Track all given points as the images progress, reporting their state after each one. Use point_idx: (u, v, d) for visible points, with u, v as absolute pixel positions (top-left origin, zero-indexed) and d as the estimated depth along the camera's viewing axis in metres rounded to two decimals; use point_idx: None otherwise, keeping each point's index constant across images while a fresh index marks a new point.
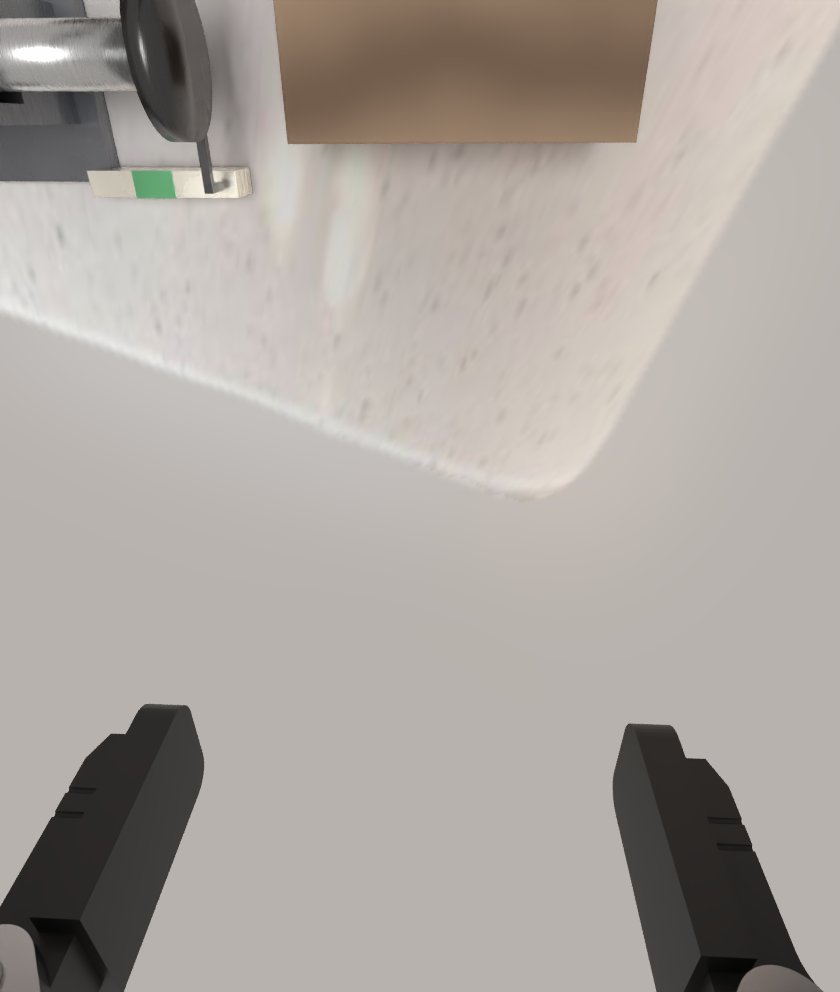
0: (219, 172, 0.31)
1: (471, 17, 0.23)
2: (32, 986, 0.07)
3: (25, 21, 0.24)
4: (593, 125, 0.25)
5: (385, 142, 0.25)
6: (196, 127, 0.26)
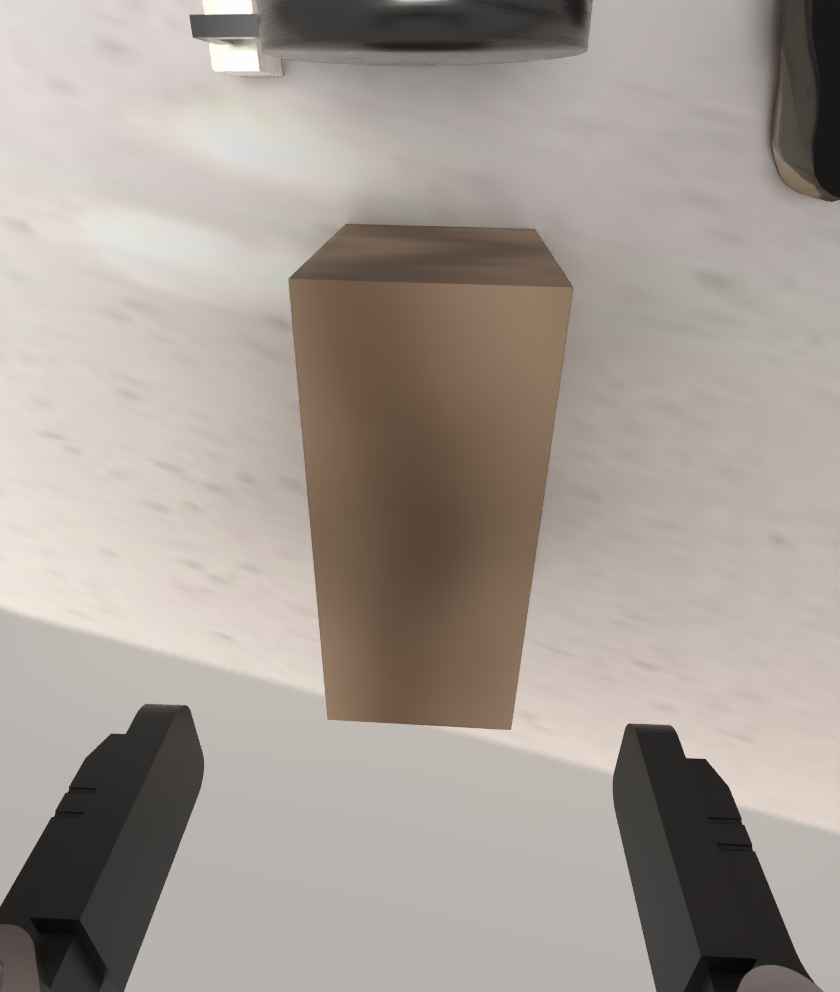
0: None
1: (461, 563, 0.17)
2: (32, 985, 0.07)
3: None
4: (343, 683, 0.20)
5: (304, 447, 0.15)
6: (295, 56, 0.12)
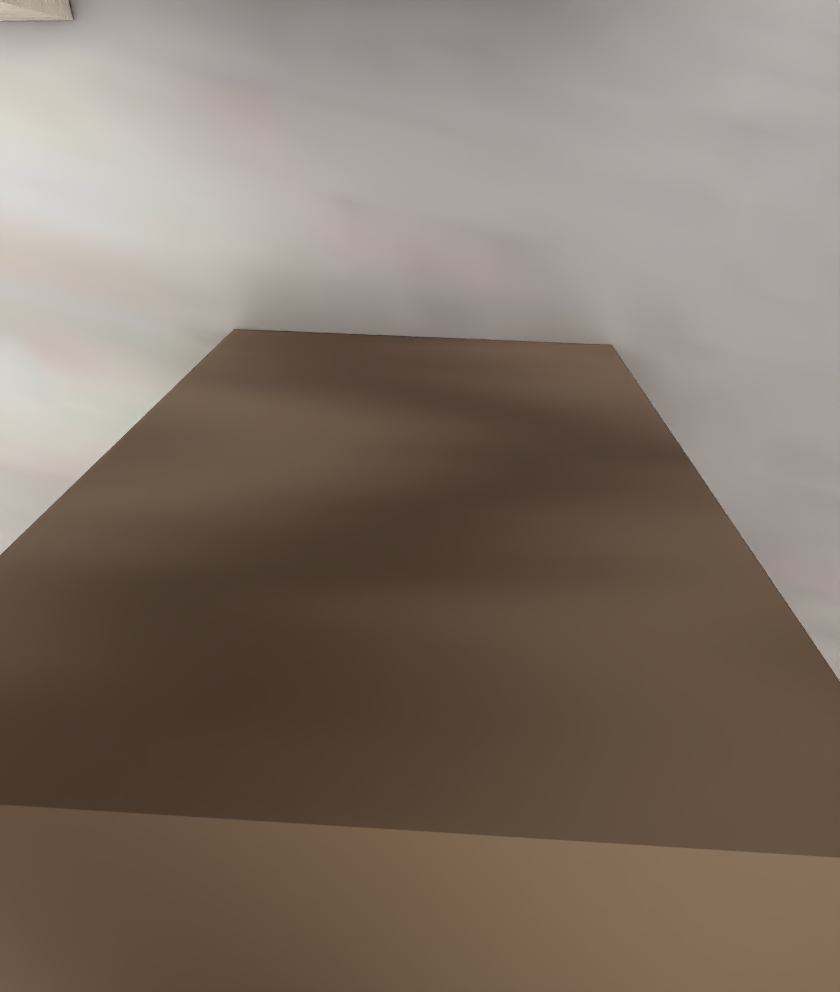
0: None
1: None
2: None
3: None
4: None
5: None
6: None
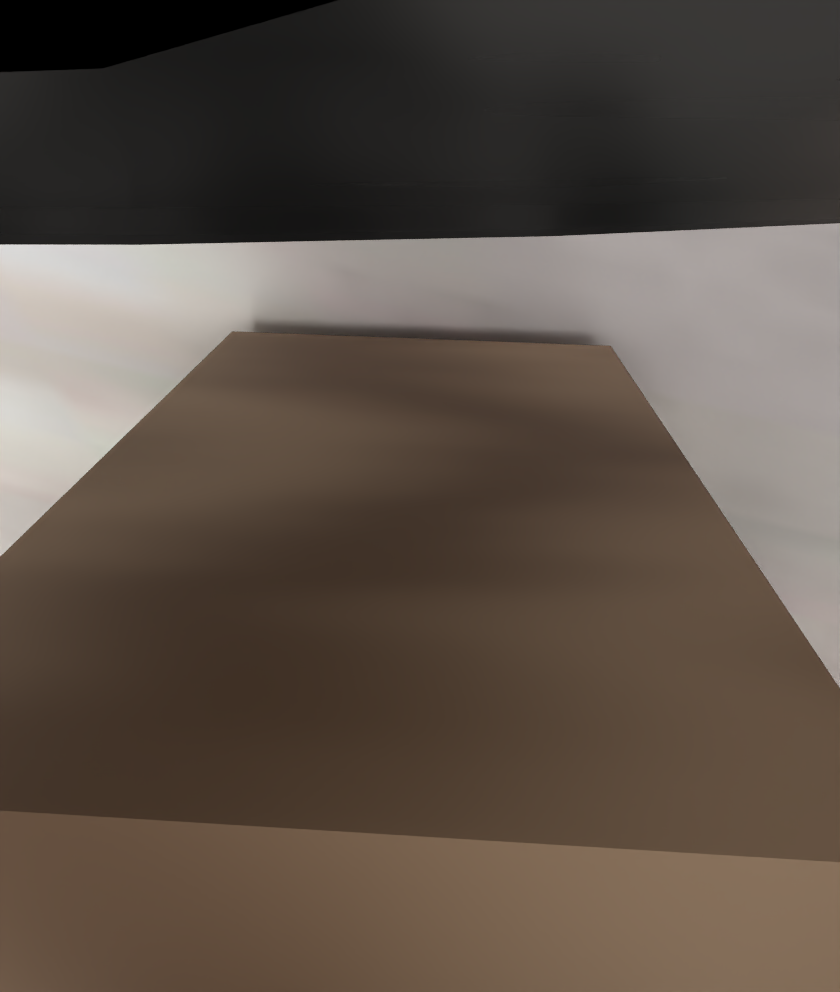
0: None
1: None
2: None
3: None
4: None
5: None
6: None
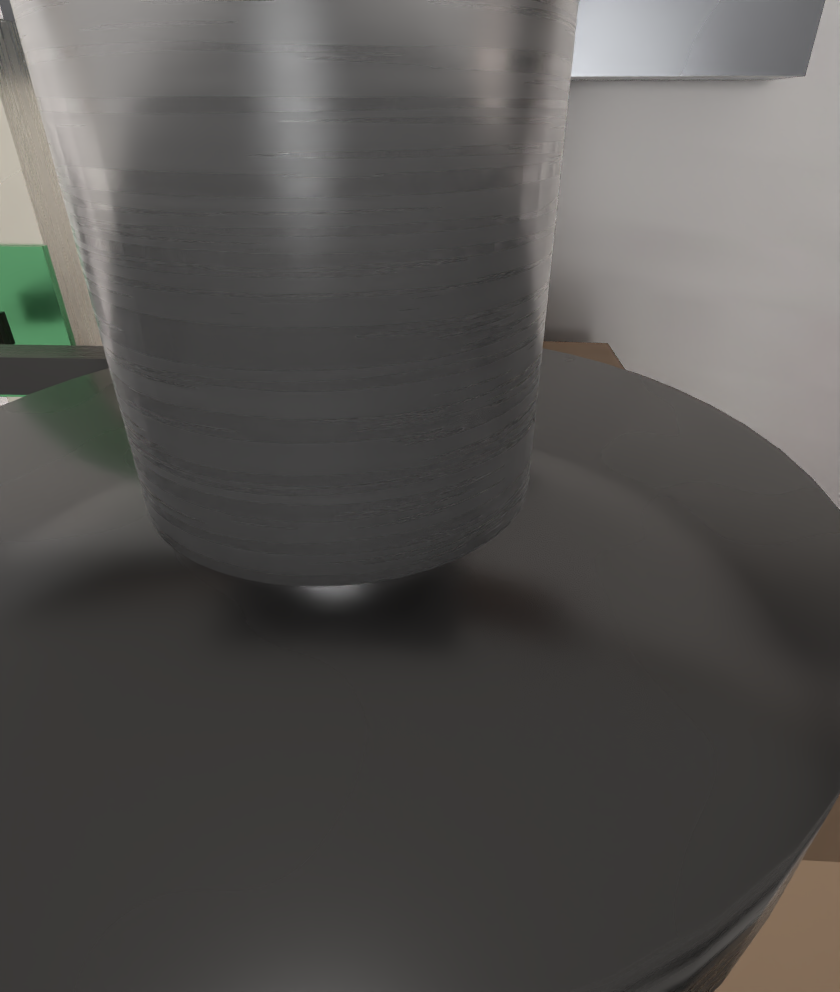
0: None
1: None
2: None
3: None
4: None
5: None
6: None
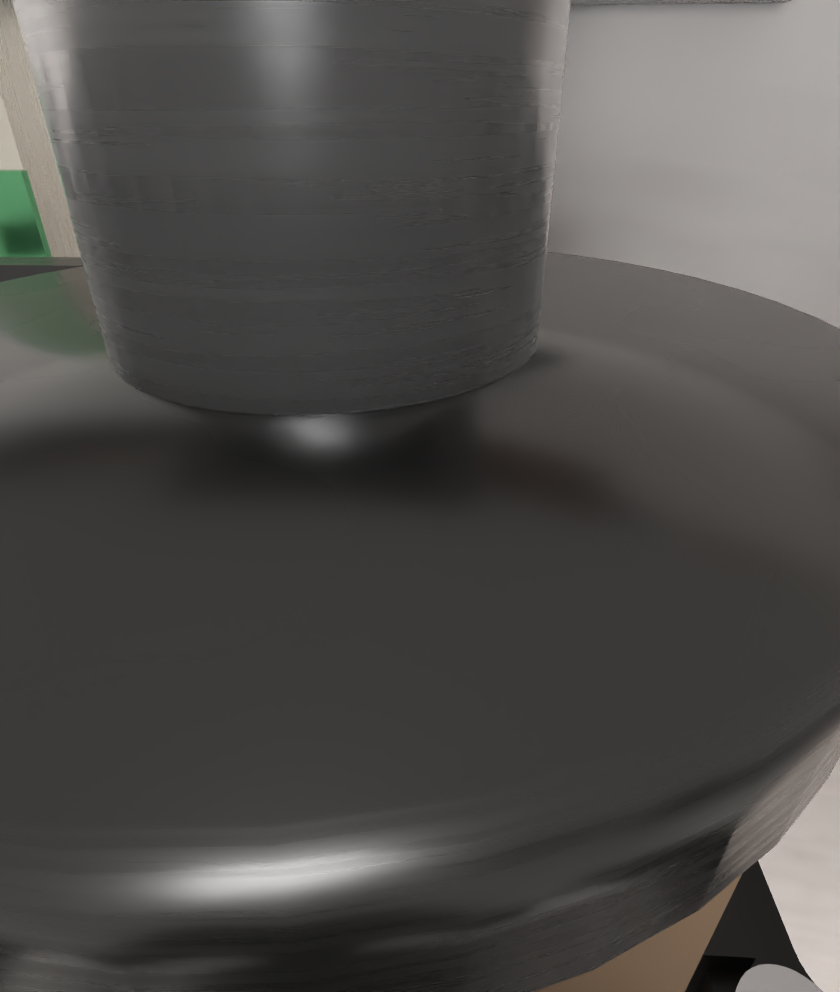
0: None
1: None
2: None
3: None
4: None
5: None
6: None
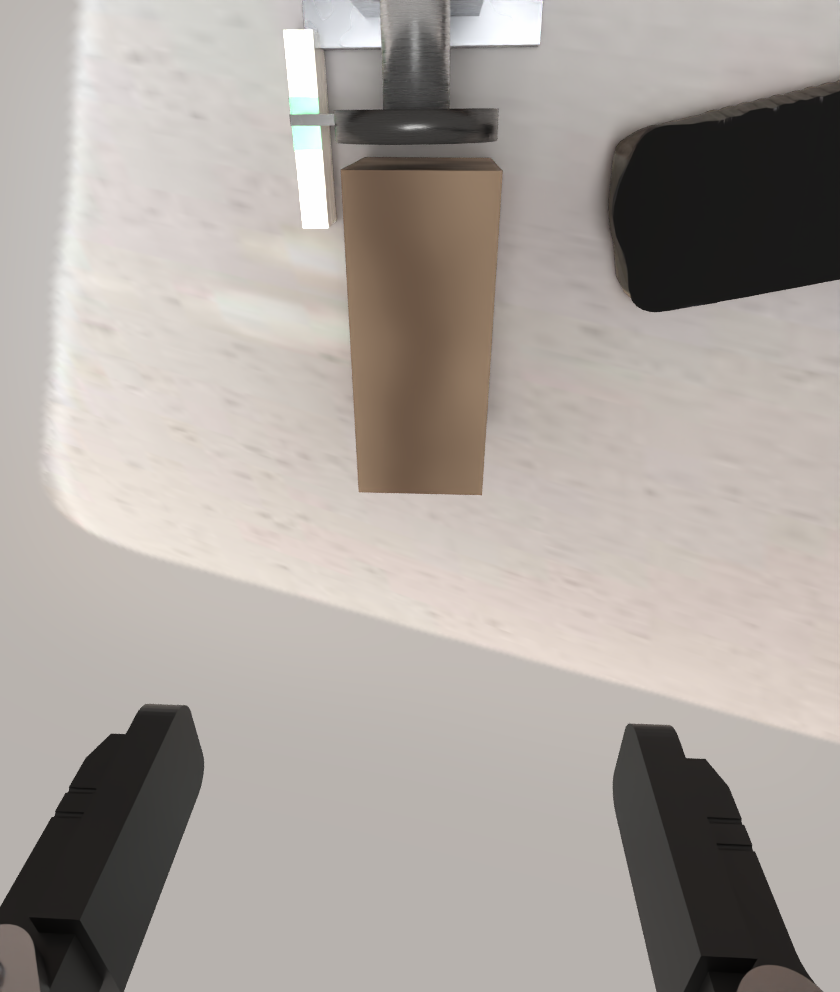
0: (325, 209, 0.29)
1: (445, 361, 0.27)
2: (32, 985, 0.07)
3: None
4: (369, 461, 0.30)
5: (347, 280, 0.25)
6: None
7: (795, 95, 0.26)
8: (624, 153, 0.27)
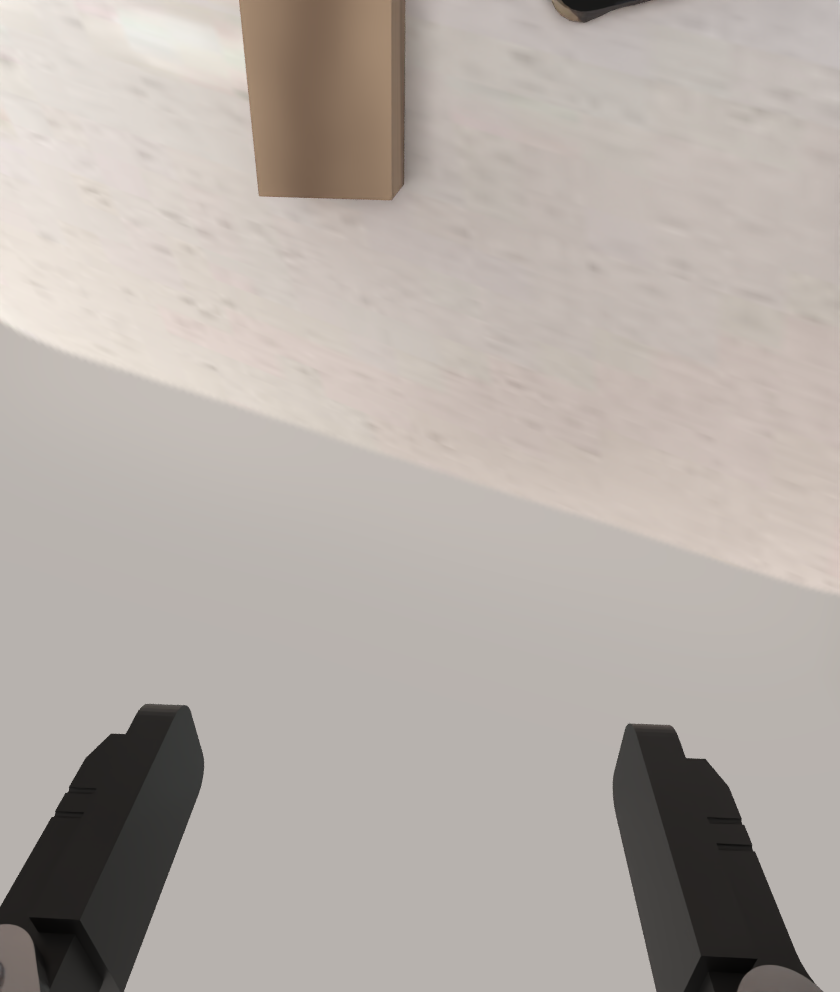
0: None
1: (342, 12, 0.25)
2: (32, 986, 0.07)
3: None
4: (267, 152, 0.27)
5: None
6: None
7: None
8: None
